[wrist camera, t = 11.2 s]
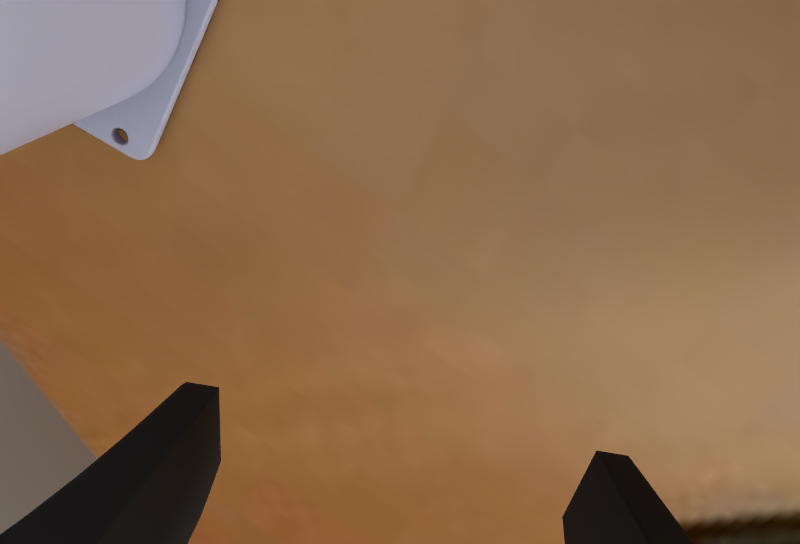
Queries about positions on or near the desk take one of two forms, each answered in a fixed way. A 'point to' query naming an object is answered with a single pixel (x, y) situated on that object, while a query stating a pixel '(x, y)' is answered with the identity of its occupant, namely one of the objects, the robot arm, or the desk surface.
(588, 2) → the desk surface
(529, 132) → the desk surface
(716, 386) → the desk surface
